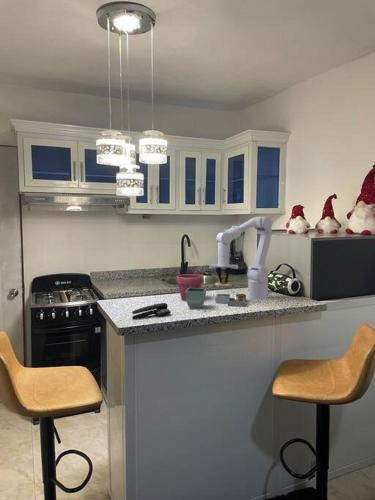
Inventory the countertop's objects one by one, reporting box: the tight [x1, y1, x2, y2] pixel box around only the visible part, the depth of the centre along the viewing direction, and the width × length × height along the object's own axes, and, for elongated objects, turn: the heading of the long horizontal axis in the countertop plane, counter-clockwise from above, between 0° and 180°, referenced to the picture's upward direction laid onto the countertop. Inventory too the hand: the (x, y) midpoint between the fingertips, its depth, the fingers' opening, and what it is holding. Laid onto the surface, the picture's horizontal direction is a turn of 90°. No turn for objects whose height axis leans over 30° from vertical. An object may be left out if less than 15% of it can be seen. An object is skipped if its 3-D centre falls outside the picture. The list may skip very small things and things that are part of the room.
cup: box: [215, 293, 231, 305], centre depth 200 cm, size 7×7×4 cm
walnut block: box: [235, 293, 247, 303], centre depth 202 cm, size 4×4×4 cm
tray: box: [227, 297, 246, 308], centre depth 194 cm, size 8×8×3 cm
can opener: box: [131, 302, 171, 320], centre depth 173 cm, size 18×7×6 cm, turn 119°
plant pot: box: [176, 273, 204, 302], centre depth 208 cm, size 14×14×13 cm
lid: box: [214, 276, 233, 288], centre depth 200 cm, size 8×8×4 cm
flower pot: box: [186, 287, 207, 310], centre depth 189 cm, size 9×9×9 cm
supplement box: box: [247, 265, 269, 294], centre depth 229 cm, size 9×9×15 cm
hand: (223, 282), depth 200 cm, fingers closed on lid, 2 cm apart
